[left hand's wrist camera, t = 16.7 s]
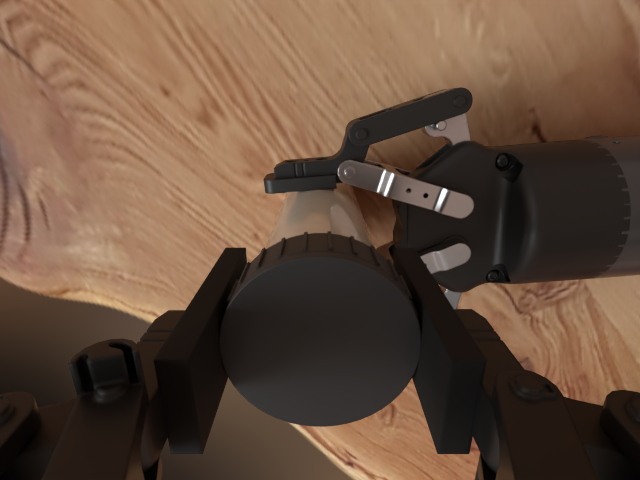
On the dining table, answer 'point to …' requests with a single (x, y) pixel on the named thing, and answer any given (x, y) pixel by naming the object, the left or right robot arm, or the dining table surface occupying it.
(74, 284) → the dining table surface
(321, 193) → the bottle
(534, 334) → the dining table surface
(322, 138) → the dining table surface
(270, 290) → the lid
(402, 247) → the right robot arm
